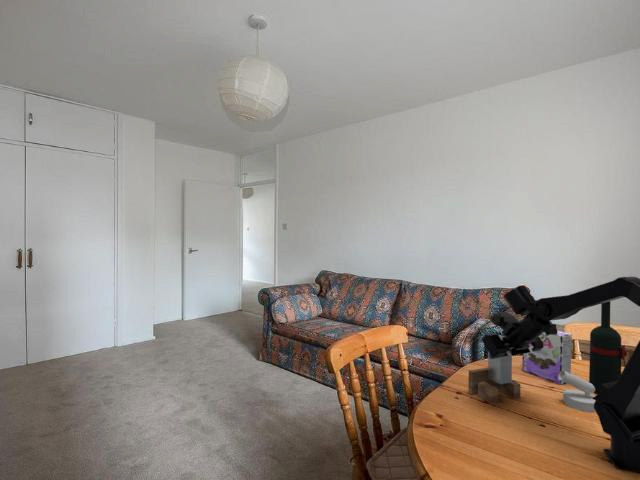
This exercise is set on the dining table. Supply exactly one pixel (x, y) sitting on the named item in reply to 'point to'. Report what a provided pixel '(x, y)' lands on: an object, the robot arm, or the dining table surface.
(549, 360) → the candy box
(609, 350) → the wine bottle
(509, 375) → the grey square pillar
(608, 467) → the dining table surface
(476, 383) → the bench
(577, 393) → the wall hook
